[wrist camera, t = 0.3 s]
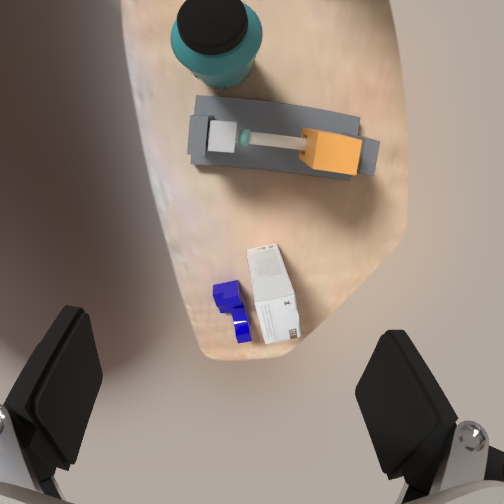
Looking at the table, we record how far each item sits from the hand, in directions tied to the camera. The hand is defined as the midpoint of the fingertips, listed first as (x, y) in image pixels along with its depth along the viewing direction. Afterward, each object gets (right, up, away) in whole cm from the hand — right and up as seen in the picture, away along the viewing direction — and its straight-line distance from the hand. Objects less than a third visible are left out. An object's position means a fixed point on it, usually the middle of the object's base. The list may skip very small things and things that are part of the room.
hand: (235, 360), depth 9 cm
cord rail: (+3, +17, +26) cm, 31 cm away
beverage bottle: (-3, +25, +22) cm, 33 cm away
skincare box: (+2, +2, +33) cm, 33 cm away
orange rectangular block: (+7, +14, +21) cm, 27 cm away
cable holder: (-2, -4, +36) cm, 36 cm away
